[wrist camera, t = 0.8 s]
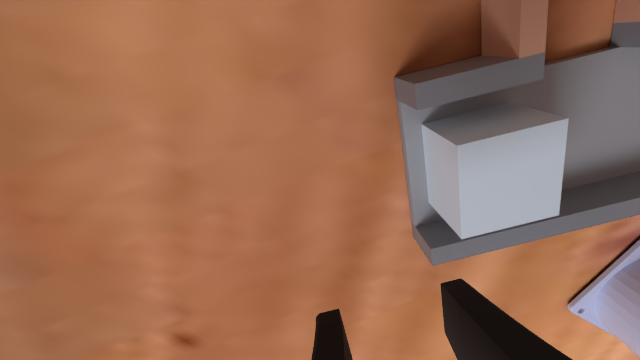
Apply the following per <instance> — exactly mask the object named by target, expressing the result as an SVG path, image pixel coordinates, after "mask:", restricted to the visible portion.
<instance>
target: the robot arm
mask: <svg viewBox="0 0 640 360" xmlns="http://www.w3.org/2000/svg"><path fill="white" fill-rule="evenodd" d="M441 294H442V306H443V317H444V329H445V333H446V336H447V338H448V340H449V342H450V344H451V347H452V349H453V351H454V353H455V355H456V357H457V359H458V360H572V359H571V358H569V357H568V356H566V355H565V354H563V353H561V352H560V351H558V350H557V349H555V348H554V347H553V346H551V345H550V344H548V343H547V342H545V341H544V340H542V339H541V338H539V337H538V336H537V335H535V334H534V333H532V332H531V331H530V330H528V329H527V328H525V327H524V326H523V325H521V324H520V323H518V322H517V321H516V320H514V319H513V318H512V317H510V316H509V315H508V314H506V313H505V312H504V311H502V310H501V309H500V308H498V307H497V306H496V305H494V304H493V303H492V302H491V301H489V300H488V299H487V298H485V297H484V296H483V295H482V294H480V293H479V292H478V291H476V290H475V289H474V288H473V287H471V286H470V285H469V284H468V283H466V282H465V281H464V280H462V279H457V280H453V281H449V282H445V283H441ZM568 309H569V310H570V311H571V312H572V313H574V314H575V315H577V316H579V317H581V318H583V319H584V320H586V321H588V322H590V323H592V324H594V325H595V326H597V327H599V328H601V329H603V330H604V331H606V332H608V333H610V334H612V335H614V336H615V337H617V338H618V339H619V340H620V341H622V342H623V343H624V344H625V345H626V346H627V347H628V348H629V349H631V350H632V351H633V352H634V353H635V354H636V355H637V356H638V357H640V239H639V240H638V241H637V242H636V243H635V244H634V245H633V246H632V247H631V248H629V249H628V250H627V251H626V252H625V253H624V254H623V255H622V256H621V257H620V258H618V259H617V260H616V261H615V262H614V263H613V264H612V265H611V266H610V267H609V268H607V269H606V270H605V271H604V272H603V273H602V274H601V275H600V276H599V277H598V278H597V279H595V280H594V281H593V282H592V283H591V284H590V285H589V286H588V287H587V288H586V289H584V290H583V291H582V292H581V293H580V294H579V295H578V296H577V297H576V298H575V299H573V300H572V301H571V302H570V303H569V304H568ZM312 360H352V355H351V352H350V348H349V344H348V340H347V337H346V333H345V329H344V326H343V322H342V318H341V314H340V311H339V309H336V310H332V311H328V312H324V313H320V314H318V316H317V317H316V331H315V340H314V348H313V354H312Z"/></svg>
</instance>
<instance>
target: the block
mask: <svg viewBox="0 0 640 360" xmlns="http://www.w3.org/2000/svg"><path fill="white" fill-rule="evenodd" d="M568 121H569V118H566V117H562V116H559V115H555V114H551V113H548V112H544V111H540V110H537V109H533V108H529V107H526V106H522V105H518V104H515V103H511V102H509V103H505V104H501V105H497V106H493V107H488V108H484V109H480V110H476V111H472V112H468V113H464V114H460V115H456V116H452V117H448V118H444V119H440V120H436V121H432V122H428V123H424V124H421V125H422V136H423V147H424V157H425V168H426V179H427V189H428V200H429V203H430V204H431V206H432V207H433V208H434V209H435V210H436V211H437V212H438V213H439V215H440V216H441V217H442V218H443V219H444V220H445V221H446V222H447V224H448V225H449V226H450V227H451V228H452V229H453V230H454V231H455V233H456V234H457V235H458V236H459V237H460V238H461V239H465V238H469V237H473V236H477V235H481V234H485V233H489V232H493V231H497V230H501V229H505V228H509V227H513V226H517V225H521V224H525V223H529V222H534V221H538V220H542V219H546V218H550V217H554V216H558V215H559V210H560V200H561V190H562V180H563V170H564V160H565V150H566V140H567V130H568Z"/></svg>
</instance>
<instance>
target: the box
mask: <svg viewBox="0 0 640 360" xmlns="http://www.w3.org/2000/svg"><path fill="white" fill-rule="evenodd" d="M548 3H549V0H481V45H482V56H478V57H474V58H470V59H466V60H462V61H458V62H454V63H450V64H446V65H441V66H437V67H433V68H429V69H425V70H421V71H417V72H413V73H409V74H405V75H401V76H397V77H394V82H395V91H396V99H397V107H398V115H399V123H400V131H401V139H402V148H403V156H404V164H405V172H406V180H407V188H408V196H409V205H410V213H411V221H412V229H413V237H414V239H415V240H416V242H417V243H418V245H419V246H420V248H421V249H422V251H423V252H424V254H425V255H426V257H427V258H428V260H429V261H430V263H431V264H432V266H434V265H438V264H442V263H446V262H450V261H454V260H458V259H462V258H466V257H470V256H474V255H478V254H482V253H486V252H490V251H495V250H499V249H503V248H507V247H511V246H515V245H519V244H523V243H527V242H531V241H535V240H539V239H543V238H547V237H551V236H555V235H559V234H563V233H567V232H571V231H575V230H579V229H583V228H587V227H591V226H596V225H600V224H604V223H608V222H612V221H616V220H620V219H624V218H628V217H632V216H636V215H640V0H616V6H615V14H614V21H613V28H612V35H611V42H610V47H608V48H604V49H600V50H596V51H592V52H588V53H583V54H579V55H575V56H571V57H567V58H563V59H559V60H555V61H551V62H547V63H545V50H546V34H547V18H548ZM509 102H511V103H515V104H518V105H522V106H526V107H529V108H533V109H537V110H540V111H544V112H548V113H551V114H555V115H559V116H562V117H566V118H569V121H568V130H567V140H566V150H565V160H564V170H563V180H562V190H561V200H560V210H559V215H558V216H554V217H550V218H546V219H542V220H538V221H534V222H529V223H525V224H521V225H517V226H513V227H509V228H505V229H501V230H497V231H493V232H489V233H485V234H481V235H477V236H473V237H469V238H465V239H461V238H460V237H459V236H458V235H457V234H456V233H455V231H454V230H453V229H452V228H451V227H450V226H449V225H448V224H447V222H446V221H445V220H444V219H443V218H442V217H441V216H440V215H439V213H438V212H437V211H436V210H435V209H434V208H433V207H432V206H431V204H430V203H429V200H428V189H427V179H426V168H425V157H424V147H423V136H422V125H421V124H424V123H428V122H432V121H436V120H440V119H444V118H448V117H452V116H456V115H460V114H464V113H468V112H472V111H476V110H480V109H484V108H488V107H493V106H497V105H501V104H505V103H509Z"/></svg>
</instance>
